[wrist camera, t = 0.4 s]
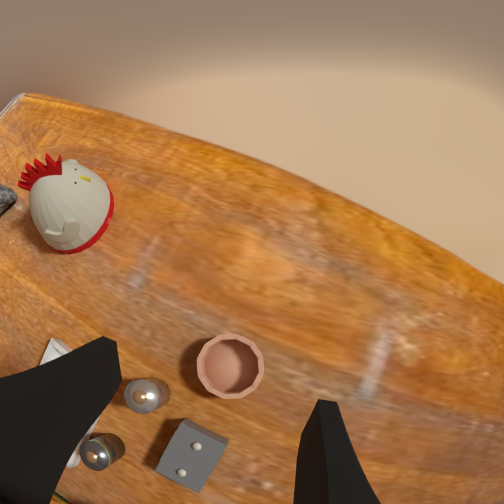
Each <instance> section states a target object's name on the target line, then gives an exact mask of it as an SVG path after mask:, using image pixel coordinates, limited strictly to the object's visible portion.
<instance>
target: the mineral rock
mask: <svg viewBox="0 0 504 504" xmlns="http://www.w3.org/2000/svg"><path fill="white" fill-rule="evenodd" d="M16 199H17V194H16V193H15V192H14V191H13V189H11V188H7V187H5V186H2V185H1V184H0V214H1V213H2V212H3V211H4V210H5V209H6V208H7V207H8V206H9V204H11V203H12V202H13V201H15V200H16Z"/></svg>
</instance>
